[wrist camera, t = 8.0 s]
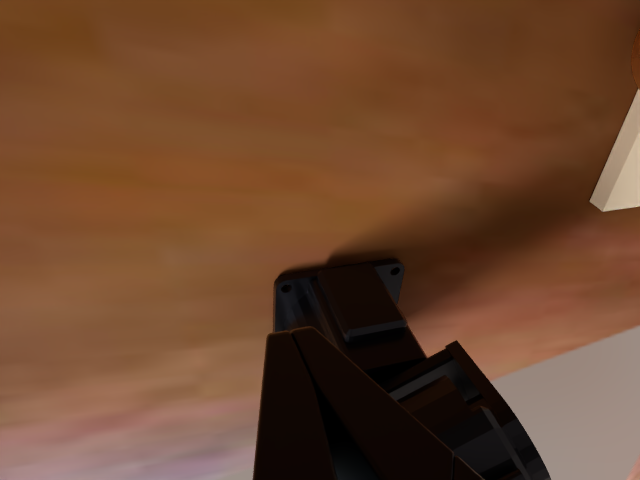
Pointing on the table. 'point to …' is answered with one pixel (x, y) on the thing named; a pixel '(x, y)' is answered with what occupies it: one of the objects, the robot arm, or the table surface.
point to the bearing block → (622, 167)
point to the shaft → (636, 60)
